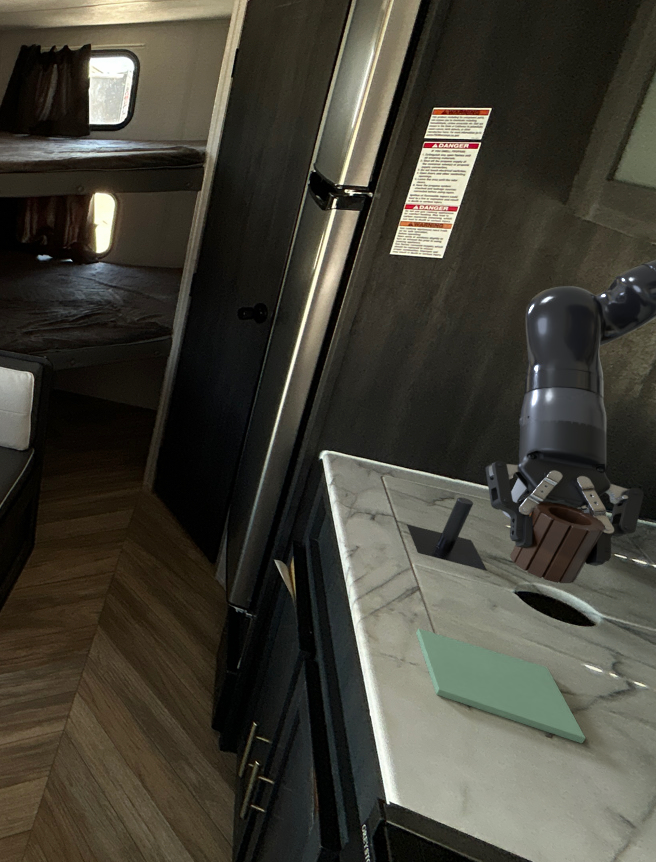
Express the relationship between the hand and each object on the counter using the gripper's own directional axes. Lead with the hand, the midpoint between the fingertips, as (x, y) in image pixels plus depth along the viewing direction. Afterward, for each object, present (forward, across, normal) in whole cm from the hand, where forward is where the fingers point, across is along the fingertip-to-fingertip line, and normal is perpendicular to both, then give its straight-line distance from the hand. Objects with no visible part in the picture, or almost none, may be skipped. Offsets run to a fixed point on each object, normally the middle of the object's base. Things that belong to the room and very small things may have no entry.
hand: (558, 554), depth 77 cm
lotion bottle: (-19, +16, +50) cm, 56 cm away
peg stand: (-6, +1, +37) cm, 37 cm away
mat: (+16, 0, +15) cm, 22 cm away
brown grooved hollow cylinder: (+1, 0, +4) cm, 4 cm away
